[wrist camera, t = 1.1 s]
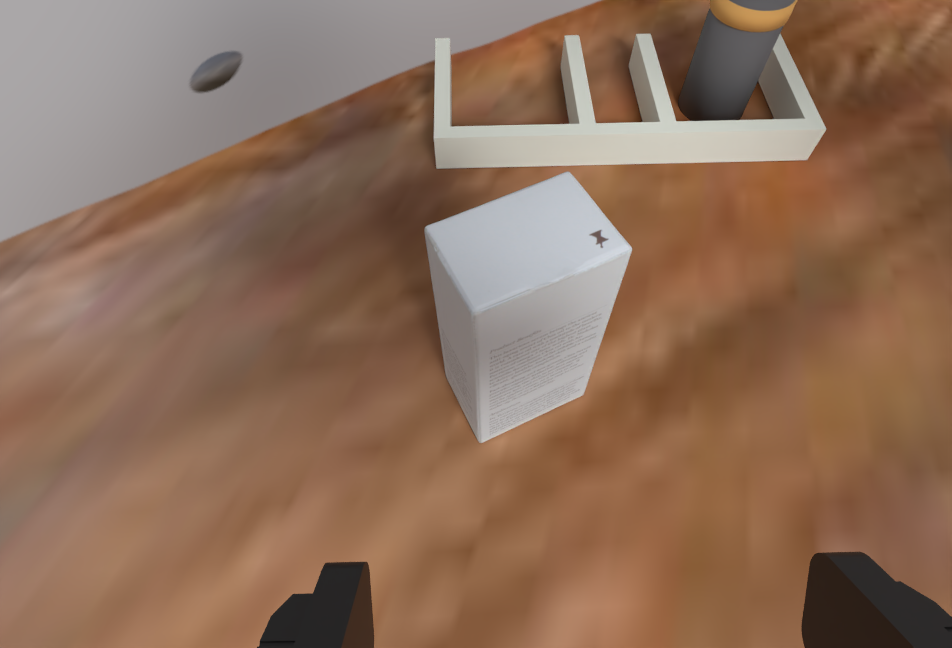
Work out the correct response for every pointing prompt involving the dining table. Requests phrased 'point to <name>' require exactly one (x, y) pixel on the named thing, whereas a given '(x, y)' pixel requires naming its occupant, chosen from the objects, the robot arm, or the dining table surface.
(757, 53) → the charcoal plug
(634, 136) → the rack
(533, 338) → the skincare box
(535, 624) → the dining table surface
